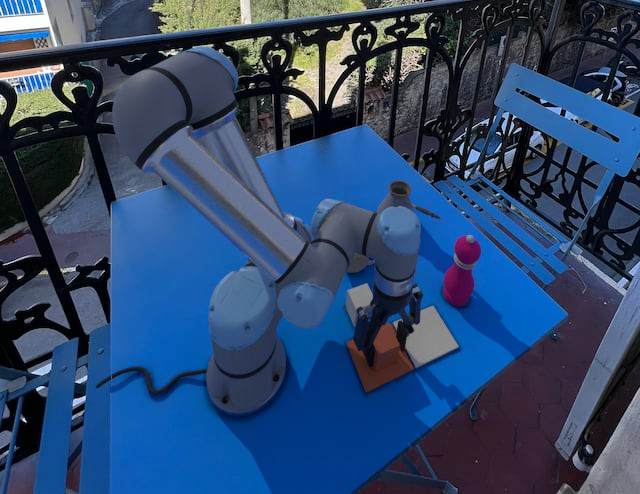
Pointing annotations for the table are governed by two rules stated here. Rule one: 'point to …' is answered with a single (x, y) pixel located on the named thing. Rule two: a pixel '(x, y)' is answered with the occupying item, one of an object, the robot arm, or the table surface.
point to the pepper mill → (461, 271)
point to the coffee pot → (401, 199)
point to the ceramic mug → (359, 263)
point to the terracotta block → (385, 348)
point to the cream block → (358, 300)
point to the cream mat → (428, 338)
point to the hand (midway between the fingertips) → (384, 352)
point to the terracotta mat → (383, 376)
